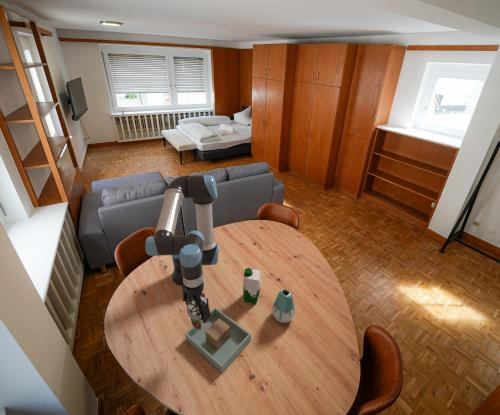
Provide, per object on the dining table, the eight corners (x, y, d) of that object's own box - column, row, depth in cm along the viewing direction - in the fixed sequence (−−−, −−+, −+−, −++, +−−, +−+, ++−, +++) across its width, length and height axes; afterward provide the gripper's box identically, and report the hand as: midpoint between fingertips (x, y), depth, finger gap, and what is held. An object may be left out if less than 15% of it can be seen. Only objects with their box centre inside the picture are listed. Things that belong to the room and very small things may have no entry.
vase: (295, 311, 142) (299, 286, 133) (291, 329, 132) (295, 304, 123) (274, 304, 145) (277, 280, 136) (268, 322, 135) (271, 297, 126)
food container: (192, 306, 120) (190, 291, 115) (206, 307, 120) (204, 292, 114) (185, 331, 109) (182, 316, 104) (200, 332, 109) (198, 317, 104)
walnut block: (219, 328, 131) (219, 318, 127) (230, 337, 127) (230, 326, 123) (206, 342, 124) (205, 331, 120) (216, 351, 121) (216, 340, 117)
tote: (185, 340, 125) (184, 333, 123) (215, 313, 139) (215, 307, 136) (221, 373, 113) (221, 366, 110) (250, 340, 126) (251, 334, 124)
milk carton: (245, 290, 153) (245, 264, 143) (260, 293, 151) (262, 266, 142) (241, 302, 145) (242, 275, 136) (258, 305, 144) (259, 278, 134)
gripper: (169, 273, 105) (175, 312, 117) (203, 301, 94) (207, 341, 105) (184, 264, 110) (189, 301, 121) (219, 289, 99) (220, 328, 110)
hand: (197, 320), depth 113 cm, fingers closed on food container, 8 cm apart
